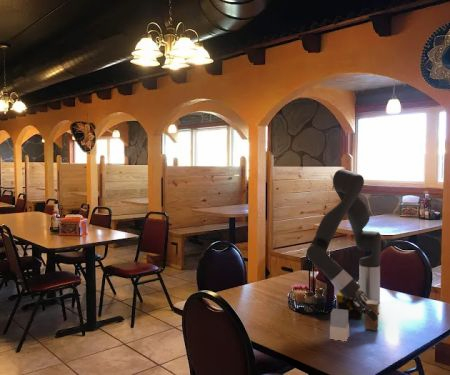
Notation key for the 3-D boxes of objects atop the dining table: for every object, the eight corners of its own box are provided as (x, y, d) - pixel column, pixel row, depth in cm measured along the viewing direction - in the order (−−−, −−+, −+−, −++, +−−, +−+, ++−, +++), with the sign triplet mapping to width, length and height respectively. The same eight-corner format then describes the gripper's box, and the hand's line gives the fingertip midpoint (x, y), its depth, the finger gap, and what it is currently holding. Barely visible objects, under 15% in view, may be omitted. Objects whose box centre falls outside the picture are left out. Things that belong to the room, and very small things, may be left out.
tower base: (329, 339, 160) (329, 326, 160) (333, 333, 166) (333, 320, 166) (346, 342, 158) (346, 328, 158) (349, 336, 163) (349, 323, 163)
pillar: (364, 328, 168) (365, 303, 167) (366, 324, 172) (366, 299, 171) (377, 330, 166) (377, 304, 165) (378, 326, 170) (378, 301, 169)
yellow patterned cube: (362, 312, 189) (362, 290, 188) (361, 320, 179) (361, 296, 179) (338, 310, 192) (338, 288, 192) (336, 318, 183) (336, 294, 182)
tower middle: (330, 326, 160) (330, 312, 160) (333, 321, 165) (333, 308, 165) (345, 328, 158) (345, 314, 158) (348, 323, 163) (348, 310, 163)
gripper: (349, 282, 164) (382, 318, 160) (354, 273, 177) (385, 306, 173) (335, 294, 167) (367, 330, 163) (341, 285, 180) (371, 317, 176)
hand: (376, 317), depth 168 cm, fingers closed on pillar, 4 cm apart
